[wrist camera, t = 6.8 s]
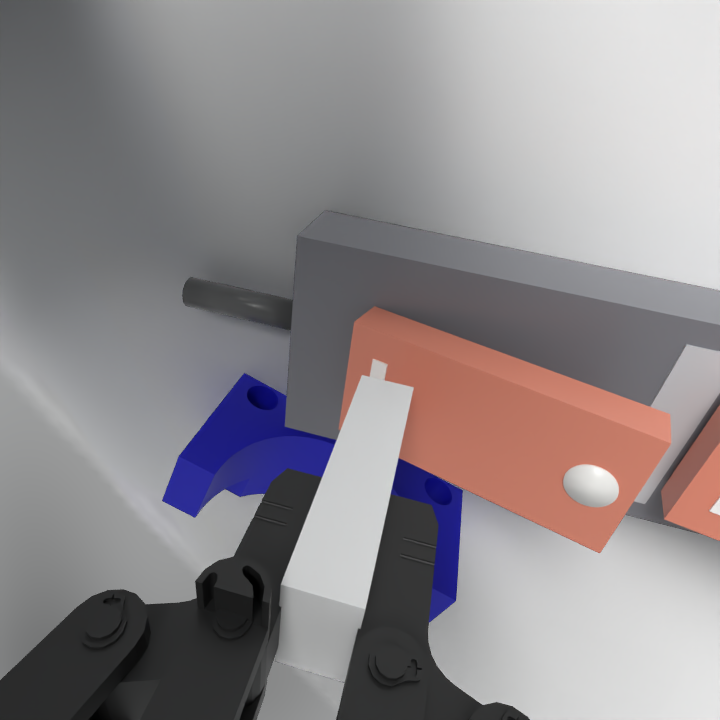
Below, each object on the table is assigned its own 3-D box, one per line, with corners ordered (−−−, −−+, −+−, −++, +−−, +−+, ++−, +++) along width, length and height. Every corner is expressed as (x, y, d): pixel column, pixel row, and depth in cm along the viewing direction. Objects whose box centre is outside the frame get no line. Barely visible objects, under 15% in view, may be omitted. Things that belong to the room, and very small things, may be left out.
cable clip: (219, 431, 26) (154, 520, 21) (245, 371, 23) (178, 456, 18) (417, 535, 26) (400, 645, 21) (462, 488, 24) (456, 600, 19)
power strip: (207, 358, 23) (170, 398, 20) (200, 185, 19) (151, 205, 16) (929, 536, 19) (1001, 613, 17) (1126, 373, 15) (1265, 441, 12)
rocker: (357, 409, 18) (337, 430, 17) (374, 306, 16) (353, 322, 15) (603, 521, 15) (599, 554, 14) (670, 414, 13) (671, 445, 12)
